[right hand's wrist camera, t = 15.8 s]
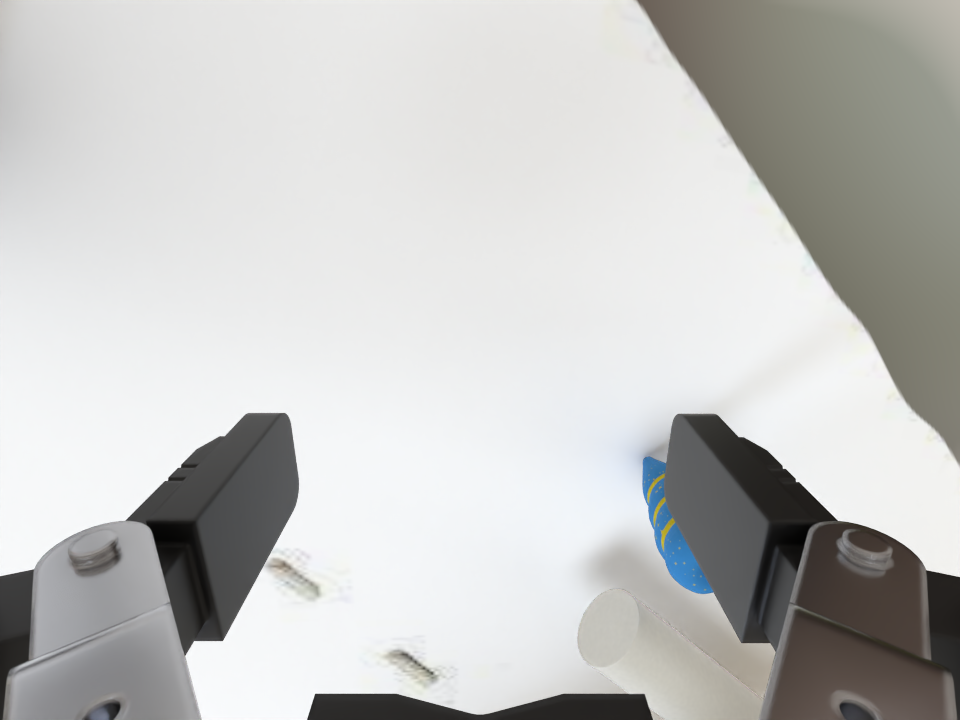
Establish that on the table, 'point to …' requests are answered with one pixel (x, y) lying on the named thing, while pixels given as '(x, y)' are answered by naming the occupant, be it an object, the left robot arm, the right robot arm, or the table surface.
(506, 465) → the table surface
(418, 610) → the table surface
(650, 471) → the ornament
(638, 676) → the cylinder
